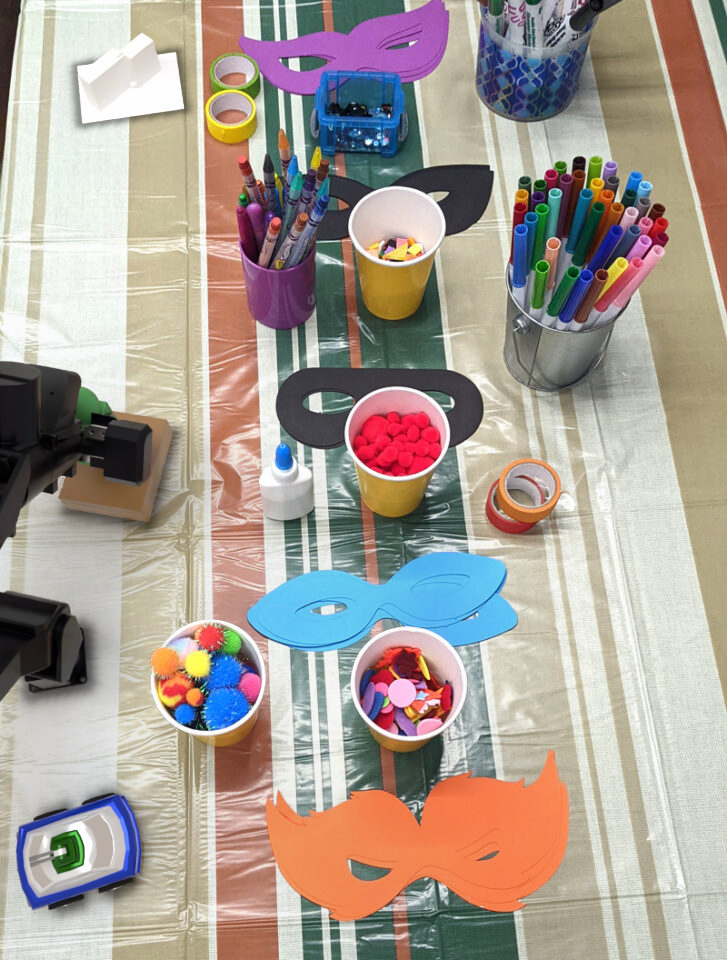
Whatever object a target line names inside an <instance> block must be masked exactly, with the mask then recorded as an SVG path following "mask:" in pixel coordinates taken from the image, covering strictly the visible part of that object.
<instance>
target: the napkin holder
mask: <svg viewBox="0 0 727 960" xmlns="http://www.w3.org/2000/svg"><path fill="white" fill-rule="evenodd" d="M177 57H178V55H177V52H176V51H175V52H167V53H160V54H158V53H157V49H156V45H155V42H154V40H153V39H152V38H150V37H149V36H147V35H146V34H145V33H143V32H141V33H140V34H138V35H137V36H136V37H135V38H133V39H132V40H130V41H129V42H128V43H127V44H126V45H124V46H123V47H122V48H121V49H119V48H118V49H117V48H115V47H114V46H113V47H112V48H110V49H109V50H108V51H107V52H105V53H104V54H103V55H102V56H101V57H99V58H98V59H96V60H95V61H94V62H93V63H89V64H83V65H82V64H81V65H77V66H76V69H77V70H76V71H77V79H78V91H79V101H80V112H81V113H80V115H81V123H82V124H90V123H96V122H104V121H110V120H117V119H118V120H119V119H123V118H124V119H125V118H131V117H138V116H144V115H152V114H159V113H165V112H172V111H178V110H179V111H180V110H185V105H184V99H183V92H182V85H181V77H180V71H179V70H180V69H179V64H178V58H177Z"/></svg>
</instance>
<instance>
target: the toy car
mask: <svg viewBox="0 0 727 960" xmlns="http://www.w3.org/2000/svg"><path fill="white" fill-rule="evenodd" d="M17 829H18V831H16V834H15V835H16V846H15V856H16V869H17V874H18V878H19V882H20V887H21V890H22V892H23V894H24V896H25V899H26V903H27V906H28V907H29V908H30V909H31V910H32V911H35V910H39V909H43V908H45V907H48V911H53V910H56V909H59V908H60V909H61V908H65V907H67V906H70V905H72V904H73V905H74V904H75V903H77V902H79V901H82V900H84V899H85V893H89V892H92V891H94V890H97V893H98V894H103V893H106V892H108V891H109V892H110V891H114V890H118V889H120V888H123V887H124V886H127V885H129V884H132V883H133V882H134V877H137V876H140V875H141V871H142V854H143V847H142V842H141V834H140V829H139V825H138V822H137V818H136V814H135V812H134V810H133V809H132V807H131V805H130V804H129V801H128V800H127V798H126V795H125V794H123V793H116V792H109V793H104V794H100V795H97V796H94V797H91V798H87V799H86V800H83V801H82V802H81V805H79V806H76V807H73V808H70V809H68V808H67V807H66V808H64V807H63V808H58V809H55V810H51V811H47V812H45V813H41V814H39V815H36V816H35V817H33V819H32V821H30V822H26V823H24V824H20V825H19V826H18V828H17Z"/></svg>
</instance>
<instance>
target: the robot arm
mask: <svg viewBox="0 0 727 960" xmlns="http://www.w3.org/2000/svg"><path fill="white" fill-rule="evenodd" d="M82 382H83V380H82V377H81V375H80V374H79V373H78V372H77V371H73V370H68V369H64V368H63V369H62V368H58V367H52V366H47V365H42V364H35V363H25V362H20V361H12V360H11V361H9V360H0V551H1V550H2V548H3V546H4V544H5V543H6V541H7V539H8V538H11V539H14V538H15V537H16V535H17V523H18V521H19V517H20V514H21V510H22V509H23V508H24V507H26V506H27V505H28V504H29V503H30V502H32V501H33V500H34V499H35V498H37V497H38V496H39V495H40V494H41V493H45V494H48V495H54V494H55V493H57V492H58V491H59V478H60V477H64V478H65V477H70V478H73V477H74V476H75V475H76V474H77V461H79V462H84V463H89V462H90V467H95V468H100V469H103V476H104V478H105V479H106V480H107V481H111V482H116V483H121V484H126V485H131V486H136V487H139V486H140V485H142V484H143V483H144V482H145V481H146V480H147V479H148V478H149V477H150V476H151V457H152V437H153V430H152V429H151V428H150V426H149V425H148V424H144V423H139V422H134V421H128V420H117V418H115V417H114V413H112V412H111V413H108V414H105V415H103V414H97V413H92V412H91V425H89V426H87V427H86V429H82V420H81V419H76V418H75V414H76V409H77V403H78V397H79V391H80V388H81V387H82ZM83 437H84V438H83ZM87 655H88V654H87V641H86V630H85V628H84V627H81V626H80V624H79V621H78V618H77V615H73V614H72V610H71V606H70V604H69V603H68V602H65V601H60V600H56V599H51V598H46V597H41V596H38V595H32V594H28V593H23V592H19V591H14V590H5V591H0V703H1V702H2V701H3V699H4V698H5V697H6V696H7V695H8V693H9V692H10V690H12V688H13V687H14V686H15V684H16V683H17V682H18V681H19V680H20V678H22V677H24V681H25V683H27V684H28V691H29V692H30V693H31V694H38V693H43V692H49V691H55V690H60V689H67V688H70V687H71V688H72V687H78V686H83V685H86V684H87V683H88V681H89V672H88V670H89V669H88V656H87ZM82 679H84V680H83V681H82ZM34 687H35V688H34ZM33 688H34V690H33Z"/></svg>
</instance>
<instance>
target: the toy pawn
mask: <svg viewBox="0 0 727 960" xmlns="http://www.w3.org/2000/svg"><path fill="white" fill-rule="evenodd" d="M113 411H114V410H112V407H111V406H110V405H109V403H108V402H107V401H106V400H105V401H104V400H99V398H98V396H97V395H96V393H95V392H93V390H91V389H89V388H87V387H85V386H81V388H80V391H79V397H78V403H77V409H76V414H75V418H76V419H81V420H82V429H86V427H87V426H89V425H91V412H92V413H97V414H103V415H105V414H108V413H111V412H112V413H113ZM114 417H115V418H117V417H116V416H115V414H114ZM117 420H118V419H117ZM83 438H84V437H83ZM78 463H79V464H83V465H88V466H90V462H89V463H84V462H79V461H78Z"/></svg>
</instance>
